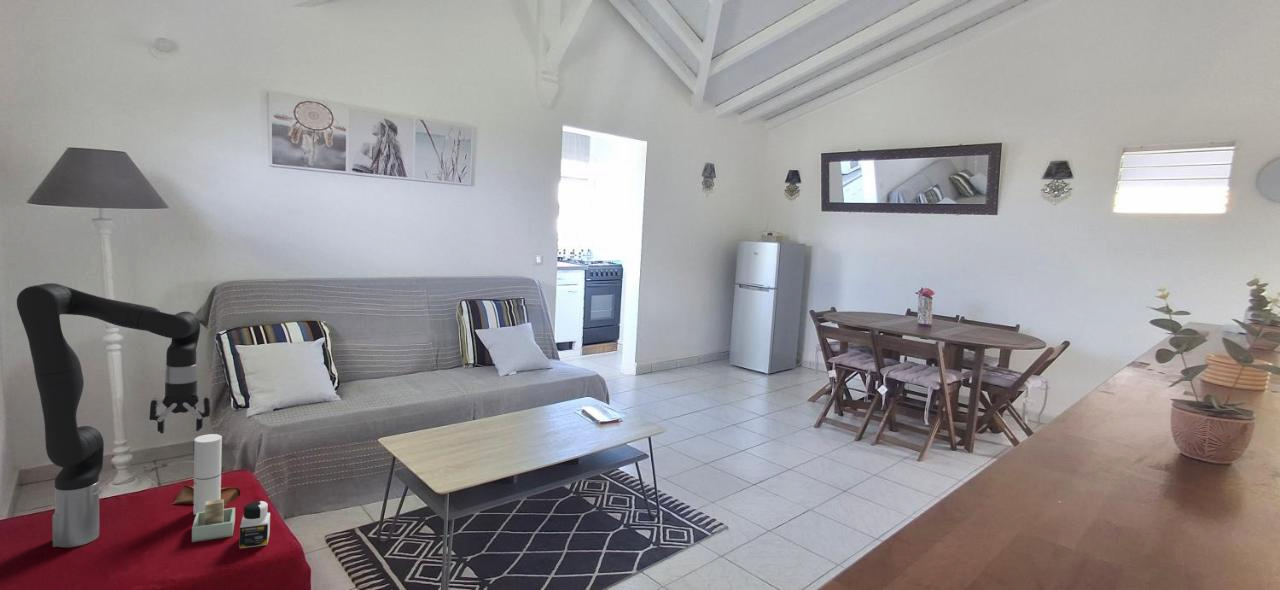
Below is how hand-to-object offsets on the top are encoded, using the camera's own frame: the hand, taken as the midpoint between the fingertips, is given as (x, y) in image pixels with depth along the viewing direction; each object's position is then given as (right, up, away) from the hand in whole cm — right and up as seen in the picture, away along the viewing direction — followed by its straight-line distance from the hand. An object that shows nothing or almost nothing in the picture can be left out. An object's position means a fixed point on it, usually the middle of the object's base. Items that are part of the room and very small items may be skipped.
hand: (180, 431), depth 176 cm
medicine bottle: (+20, -35, +3) cm, 40 cm away
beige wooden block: (+6, -32, +6) cm, 33 cm away
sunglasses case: (-10, -29, +23) cm, 39 cm away
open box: (+6, -32, +6) cm, 33 cm away
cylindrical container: (-4, -30, +17) cm, 35 cm away
